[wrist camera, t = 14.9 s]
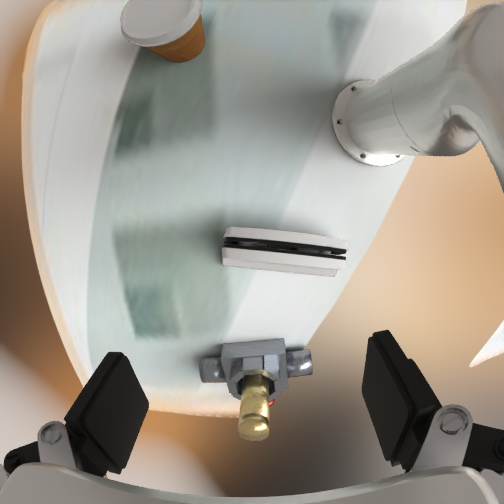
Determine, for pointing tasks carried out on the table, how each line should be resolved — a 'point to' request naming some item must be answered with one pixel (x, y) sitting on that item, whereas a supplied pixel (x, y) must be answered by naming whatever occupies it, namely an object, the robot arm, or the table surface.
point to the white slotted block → (283, 251)
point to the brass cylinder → (254, 408)
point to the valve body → (256, 365)
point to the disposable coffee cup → (165, 27)
